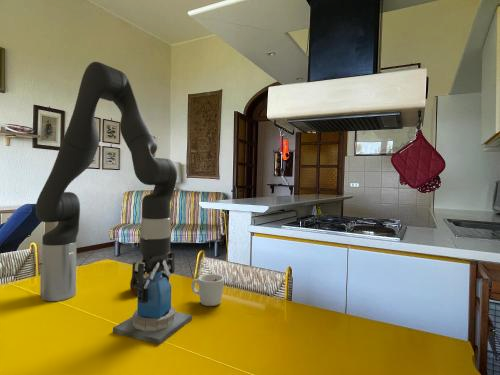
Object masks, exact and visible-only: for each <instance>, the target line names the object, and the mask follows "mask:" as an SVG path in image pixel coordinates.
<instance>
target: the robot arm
mask: <svg viewBox="0 0 500 375" xmlns="http://www.w3.org/2000/svg"><path fill="white" fill-rule="evenodd" d="M129 80H130V79H129V78H128V77H127V75H126V74H125V73H124V72H123V71H121V70H119V69H117V68H114V67H112V66H109V65H107V64H105V63H102V62H99V61H93V62H91V63H89V65H87V67H86V68H85V70H84V73H83V75H82V77H81V81H80V86H79V89H78V94H77V96H76V101H75V104H74V107H73V113H72V115H71V118H70V120H69V124H68V126H67V129H66V131H65V133H64V136H63V138H62V140H61V144H60V147H59V148H58V152H57V156H56V158H55V161H54V164H53V167H52V168H51V171H50V174H49V176H48V177H47V179H46V182H45V184H44V185H43V187H42V189H41V191H40V193H39V196H38V198H37V201H36V203H35V215H36V218H37V219H38V221H40V222H42V223H56V222H57V225H56V226H55V227H54V228H53V229H51V230H50V231H47V232H46V233H44V234H43V236H42V238H41V239H42V240H41V241H42V248H41V250H42V253H41V254H42V255H41V256H42V261H41V262H42V265H41V267H40V289H39V290H40V293H39V294H40V297H41V299H42V300H43V301H45V302H58V301H59V302H60V301H64V300H68V299H70V298H73V297H75V295H76V294H77V238H78V233H79V230H80V215H81V203H80V199H79V197H78V195H77V194H76V193H74V192H70V191H66V190H67V188H68V186H69V185H70V184H71V183H72V182H73V181H74V180H75V179H77V178H78V177H79V176H80V175H81V174H82V173H83V172H85V171H86V170H87V169H88V168H89V167H90V165H92V163H93V162H94V158H95V156H96V154H97V151H98V148H99V144H100V137H99V133H98V132H99V131H98V128H97V125H96V121H95V120H96V119H95V115H96V114H95V113H96V110H97V106H98V103H99V100H100V99H101V100H105V101H107V102H108V101H109V102H113V104H115V106H116V107H117V109H118V110H119V111H120V114H121V117H120V121H119V122H120V123H119V127H120V129H119V130H120V133H121V137H122V139H123V140H124V143H125V145H126V146H127V149H128V150H129V152H130V155H131V160H132V166H133V172H134V174H135V177H136V178H137V180H139V182H140V183H142V184H143V185H146V186H154V188H153V190H152V192H151V193H149V194H146V195H145V196H143V198H142V199H141V222H140V229H139V230H140V231H139V232H140V235H139V252H140V254H141V255H142V259H141V261H140V262H135V261H134V262H133V263H132V268H131V269H132V271H131V278H132V283H131V286H132V287H135V288H138V294H137V300H138V301H139V302H140V303H144V304H145V303H147V302H148V288H147V287H148V285H149V282H150V281H151V280H152V279H153V277H154V275H155V273H156V270H157V269H158V267H160V266H162V267H161V270H162V275H161V277H166V278H167V280H168V281H169V282H170V278H171V275H172V274H174V273H175V271H176V270H175V252H172V251H171V227H172V225H171V201H172V197H173V195H174V191H175V188H176V185H177V184H176V183H177V179H178V170H177V166H176V164H175V163H174V161H173V160H171V159H169V158H163V157H162V158H161V157H155V156H154V154H155V153H156V152H157V150H158V144H157V141H156V140H155V137H154V136H153V134H152V132H151V131H150V129H149V127H148V125H147V124H146V122H145V119H144V117H143V116H142V113H141V110H140V108H139V104H138V101H137V99H136V97H135V96H136V95H135V93H134V91H133V88H132V84H131V82H130V81H129ZM169 266H170V267H169ZM145 273H146V274H147V275H145ZM137 278H138V282H137ZM144 279H146V280H145V282H144V283H143V280H144Z"/></svg>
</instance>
